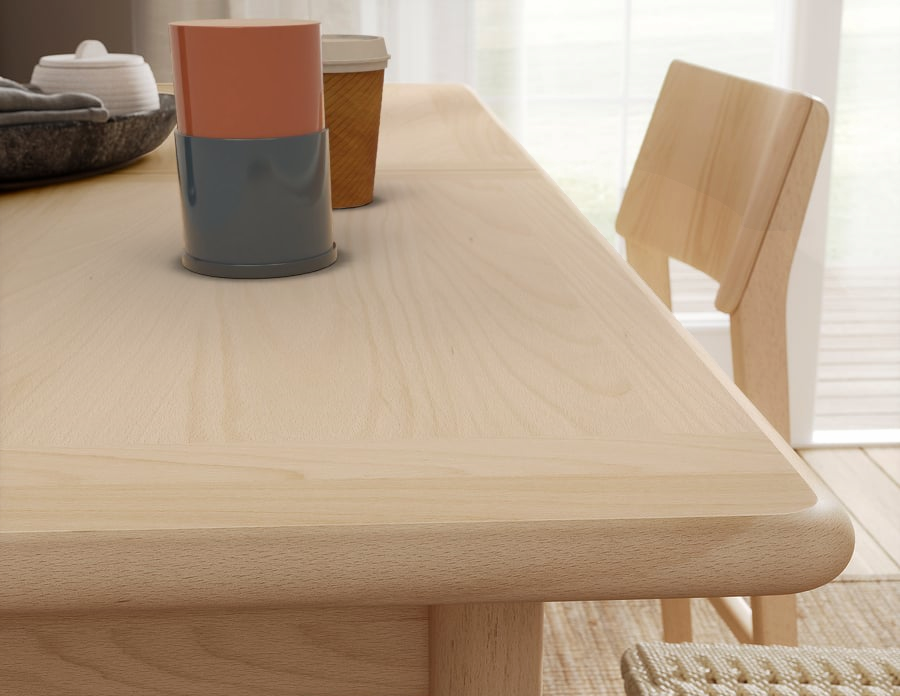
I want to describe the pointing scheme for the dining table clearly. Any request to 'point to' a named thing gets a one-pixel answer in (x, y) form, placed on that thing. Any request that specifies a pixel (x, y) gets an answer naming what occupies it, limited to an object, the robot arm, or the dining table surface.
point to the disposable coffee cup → (353, 113)
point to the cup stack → (252, 147)
